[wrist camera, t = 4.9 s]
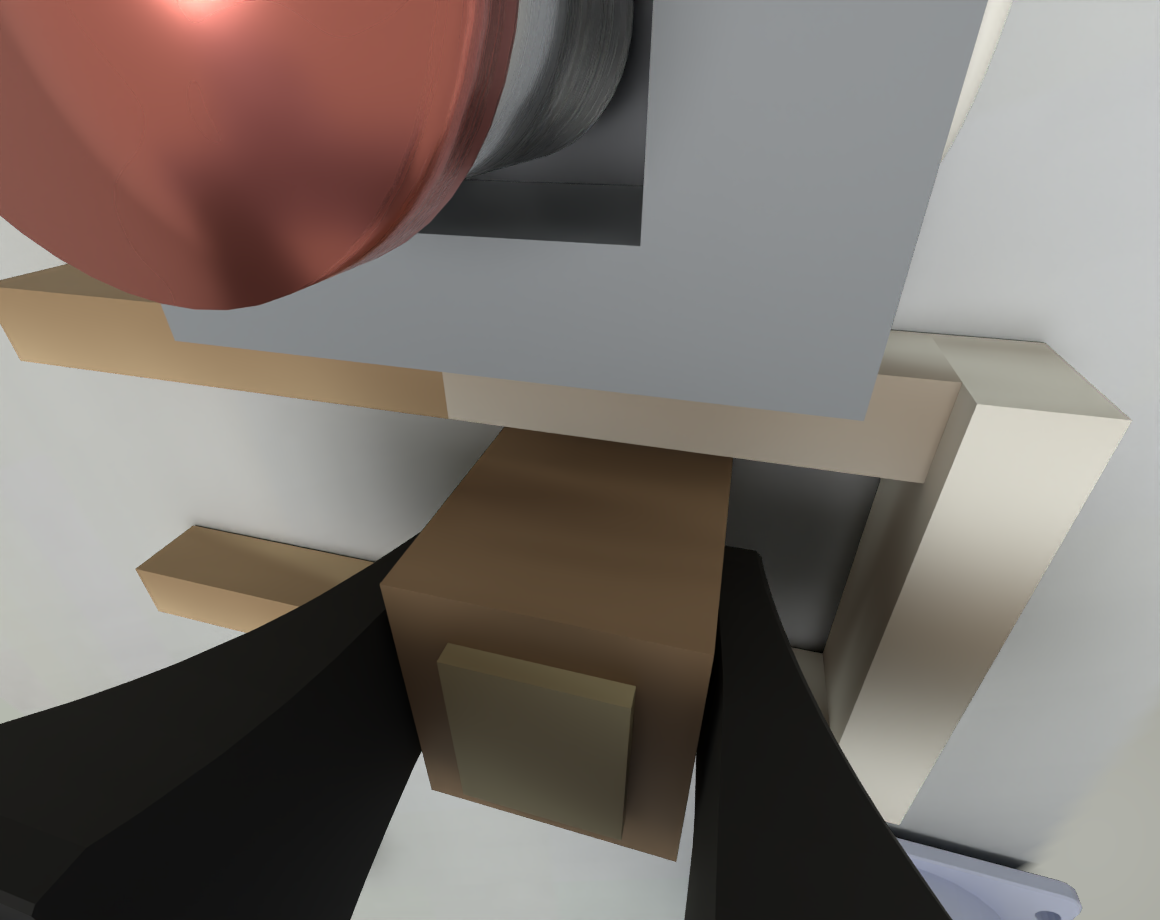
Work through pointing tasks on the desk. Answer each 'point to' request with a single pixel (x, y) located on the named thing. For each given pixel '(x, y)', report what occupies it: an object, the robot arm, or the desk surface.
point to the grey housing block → (685, 224)
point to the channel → (871, 448)
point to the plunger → (277, 127)
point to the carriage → (567, 632)
